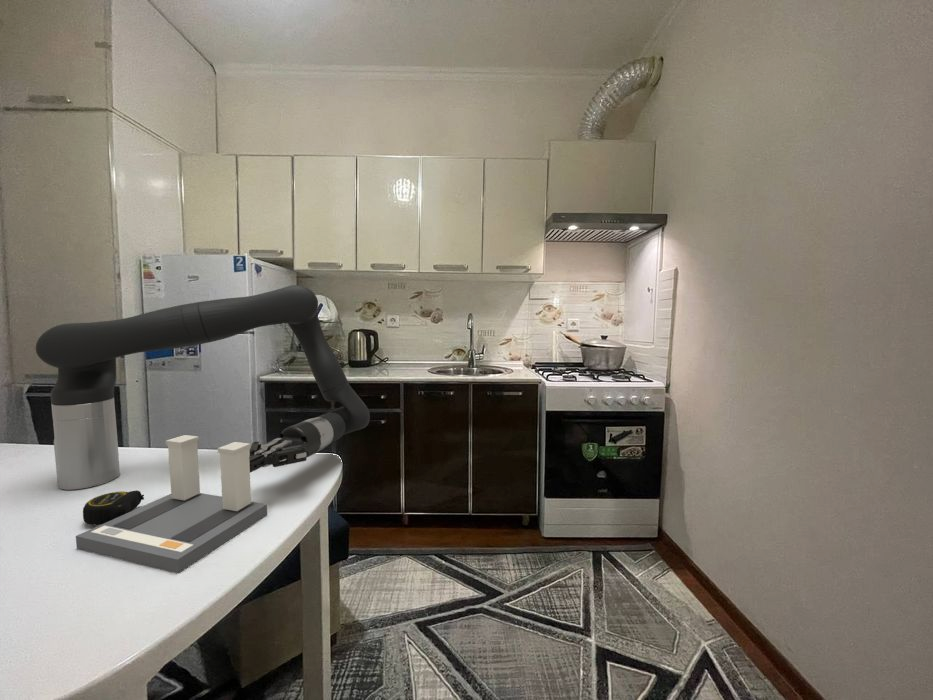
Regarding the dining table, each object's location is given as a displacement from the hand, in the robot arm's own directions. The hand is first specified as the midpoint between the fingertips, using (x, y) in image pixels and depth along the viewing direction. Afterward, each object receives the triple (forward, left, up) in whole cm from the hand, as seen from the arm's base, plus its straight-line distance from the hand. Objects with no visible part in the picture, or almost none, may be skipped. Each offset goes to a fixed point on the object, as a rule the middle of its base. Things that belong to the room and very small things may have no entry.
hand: (242, 468), depth 67 cm
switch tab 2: (0, -1, -6) cm, 6 cm away
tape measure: (-21, -7, -9) cm, 23 cm away
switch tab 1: (-12, -1, -6) cm, 14 cm away
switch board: (-6, -7, -9) cm, 13 cm away
